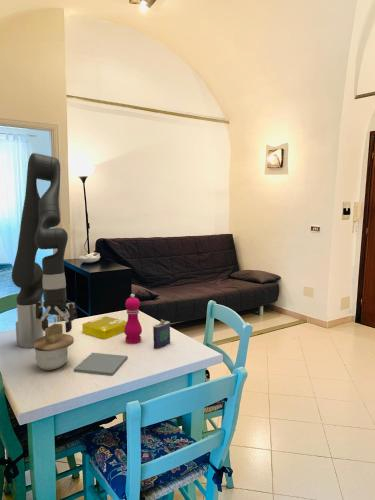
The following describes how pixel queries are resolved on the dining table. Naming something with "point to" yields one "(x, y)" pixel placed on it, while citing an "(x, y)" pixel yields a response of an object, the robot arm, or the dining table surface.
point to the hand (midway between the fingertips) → (57, 331)
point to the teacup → (51, 358)
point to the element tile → (104, 327)
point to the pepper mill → (132, 321)
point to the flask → (161, 334)
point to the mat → (101, 364)
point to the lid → (54, 339)
